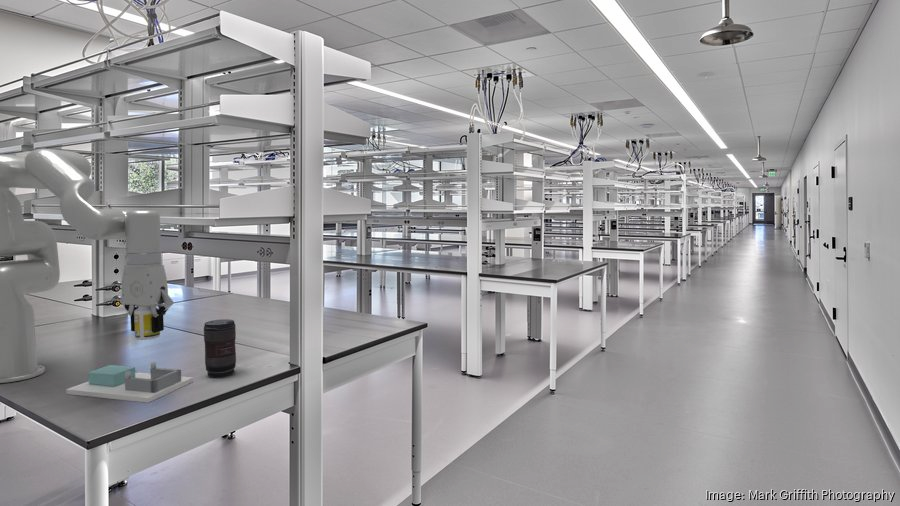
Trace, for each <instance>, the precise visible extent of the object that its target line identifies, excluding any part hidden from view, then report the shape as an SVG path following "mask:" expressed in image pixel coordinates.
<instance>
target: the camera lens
mask: <svg viewBox="0 0 900 506" xmlns="http://www.w3.org/2000/svg"><path fill="white" fill-rule="evenodd" d="M236 330H237V329H236V323H235V320H234V319H231V318H230V319H227V318H226V319H214V320H208V321H206V322H204V326H203V342H204V364H205V370H206V372H207V377H208V378H215V379H219V378H220V379H221V377H222V378H226V376H227V377H229V376H230V377H231V376H232V375H233V374H234V373H235V368H236V365H237V353H236V338H237V337H236V336H237V335H236V334H237V333H236V332H237V331H236Z"/></svg>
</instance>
